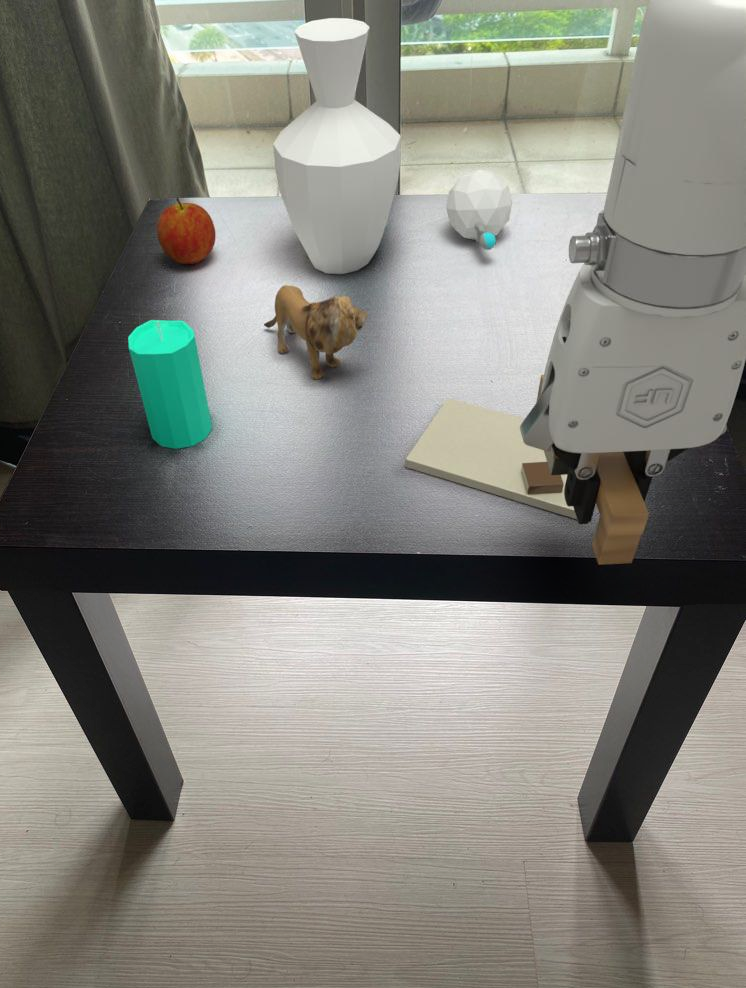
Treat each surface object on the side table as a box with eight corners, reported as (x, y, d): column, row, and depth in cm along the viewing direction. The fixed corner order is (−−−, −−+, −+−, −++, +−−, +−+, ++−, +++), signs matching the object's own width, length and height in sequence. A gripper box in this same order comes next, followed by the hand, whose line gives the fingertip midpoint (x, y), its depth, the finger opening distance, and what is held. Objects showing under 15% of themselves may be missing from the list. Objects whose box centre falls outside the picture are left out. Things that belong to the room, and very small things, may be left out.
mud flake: (562, 492, 73) (563, 484, 72) (527, 494, 73) (528, 486, 72) (554, 469, 75) (556, 460, 74) (520, 471, 75) (522, 462, 74)
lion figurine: (375, 373, 87) (374, 295, 81) (338, 396, 85) (334, 317, 78) (282, 320, 95) (274, 245, 88) (245, 340, 92) (235, 264, 86)
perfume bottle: (515, 188, 107) (538, 245, 100) (460, 227, 111) (478, 284, 104) (485, 143, 102) (507, 199, 95) (428, 185, 105) (445, 242, 98)
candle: (206, 449, 80) (184, 340, 71) (144, 448, 80) (115, 340, 72) (217, 409, 84) (197, 302, 75) (158, 409, 85) (131, 302, 76)
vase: (318, 222, 111) (304, 3, 93) (418, 242, 106) (424, 15, 88) (263, 273, 102) (235, 43, 84) (369, 297, 97) (364, 59, 79)
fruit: (225, 247, 107) (215, 185, 101) (211, 275, 102) (201, 211, 96) (172, 245, 108) (160, 183, 102) (156, 273, 103) (142, 210, 97)
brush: (654, 563, 54) (672, 513, 51) (576, 567, 54) (590, 517, 51) (597, 421, 64) (610, 370, 61) (532, 424, 64) (540, 374, 61)
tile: (608, 450, 78) (610, 441, 77) (577, 519, 72) (579, 511, 71) (447, 405, 83) (447, 397, 82) (404, 467, 77) (405, 458, 76)
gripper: (529, 300, 41) (490, 555, 54) (859, 284, 41) (738, 543, 54) (502, 226, 46) (473, 476, 59) (795, 212, 46) (700, 465, 59)
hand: (600, 506), depth 57 cm, fingers closed on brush
